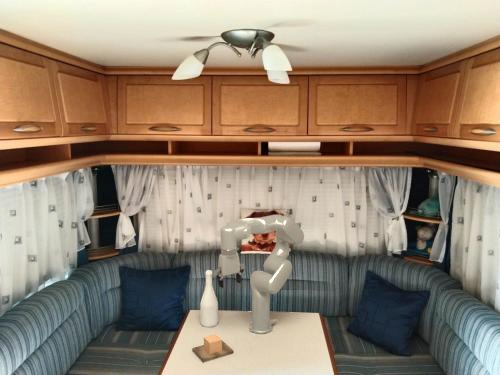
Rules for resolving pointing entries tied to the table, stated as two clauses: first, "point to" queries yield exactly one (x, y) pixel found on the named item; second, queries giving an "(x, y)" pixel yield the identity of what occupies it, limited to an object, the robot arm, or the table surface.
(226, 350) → the base plate
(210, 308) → the wine bottle
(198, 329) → the table surface
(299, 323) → the table surface
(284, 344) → the table surface
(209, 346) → the light orange cube
